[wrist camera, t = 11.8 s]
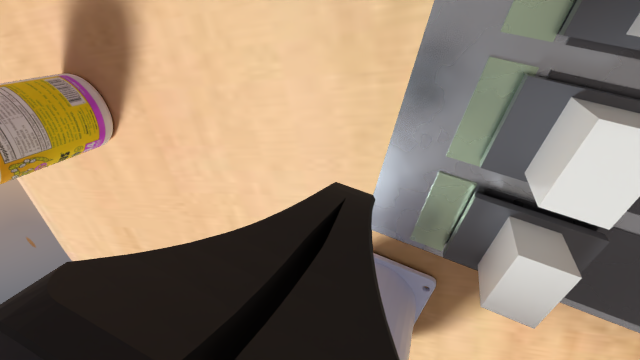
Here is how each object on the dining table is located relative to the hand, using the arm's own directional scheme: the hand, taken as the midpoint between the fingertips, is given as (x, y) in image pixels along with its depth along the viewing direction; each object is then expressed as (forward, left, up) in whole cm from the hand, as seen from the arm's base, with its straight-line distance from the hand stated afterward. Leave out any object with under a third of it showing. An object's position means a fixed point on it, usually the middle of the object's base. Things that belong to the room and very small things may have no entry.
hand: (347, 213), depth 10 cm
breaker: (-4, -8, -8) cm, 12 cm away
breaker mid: (+2, -8, -8) cm, 11 cm away
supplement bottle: (-7, +27, -10) cm, 30 cm away
